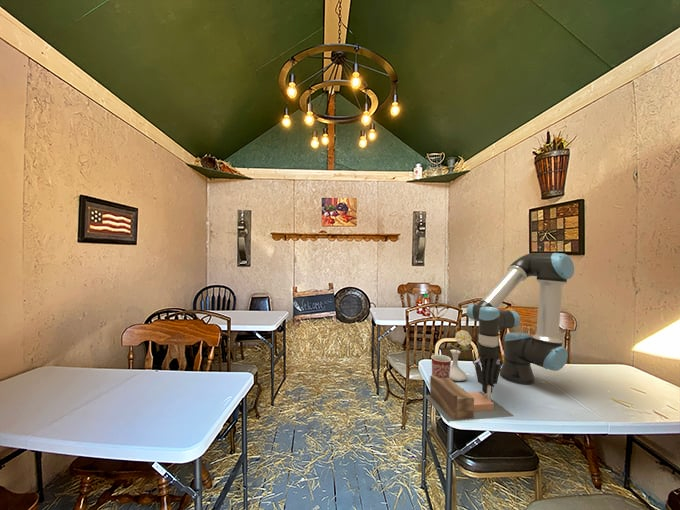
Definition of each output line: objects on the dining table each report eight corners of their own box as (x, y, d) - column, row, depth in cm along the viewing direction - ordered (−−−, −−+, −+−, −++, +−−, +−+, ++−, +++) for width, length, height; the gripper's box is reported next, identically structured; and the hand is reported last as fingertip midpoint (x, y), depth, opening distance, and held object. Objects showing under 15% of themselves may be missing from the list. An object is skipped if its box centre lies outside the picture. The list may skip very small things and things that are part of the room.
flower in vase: (442, 380, 143) (443, 330, 143) (443, 372, 154) (444, 325, 154) (471, 385, 138) (472, 333, 138) (470, 376, 149) (471, 328, 149)
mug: (453, 391, 132) (453, 361, 132) (432, 389, 133) (433, 360, 133) (445, 379, 145) (446, 352, 145) (427, 378, 146) (428, 351, 146)
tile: (477, 397, 126) (477, 391, 126) (493, 409, 116) (493, 403, 116) (448, 399, 124) (448, 393, 124) (462, 412, 114) (462, 405, 114)
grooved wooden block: (448, 394, 128) (448, 374, 128) (473, 417, 110) (474, 394, 110) (430, 395, 127) (430, 375, 126) (452, 419, 109) (453, 395, 109)
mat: (481, 392, 132) (481, 391, 132) (514, 417, 112) (514, 416, 112) (423, 396, 127) (423, 395, 127) (448, 422, 107) (448, 421, 107)
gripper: (495, 341, 126) (494, 395, 126) (468, 342, 124) (467, 397, 124) (508, 346, 118) (507, 403, 119) (480, 347, 116) (479, 406, 116)
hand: (487, 400), depth 121 cm, fingers closed
